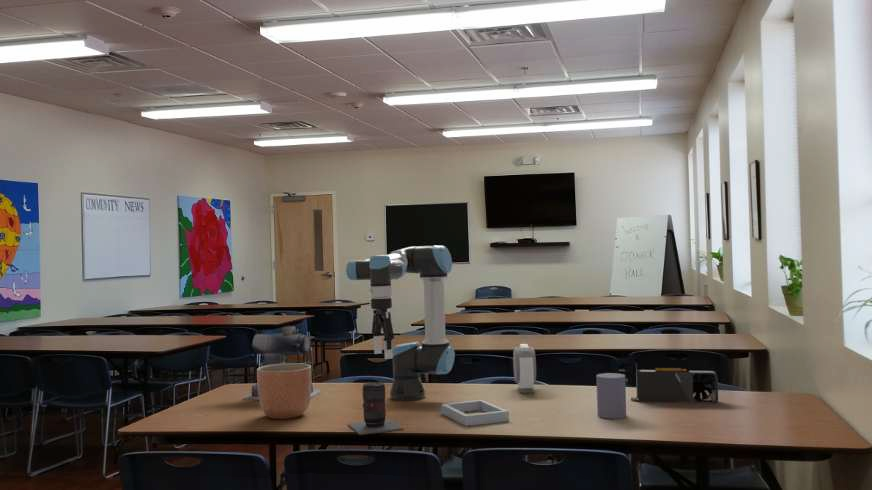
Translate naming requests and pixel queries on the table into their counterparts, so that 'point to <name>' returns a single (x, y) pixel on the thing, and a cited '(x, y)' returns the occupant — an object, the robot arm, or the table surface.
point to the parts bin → (490, 416)
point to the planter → (284, 389)
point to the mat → (387, 427)
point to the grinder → (279, 351)
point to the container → (611, 395)
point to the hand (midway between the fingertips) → (383, 356)
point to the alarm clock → (524, 367)
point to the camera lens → (374, 404)
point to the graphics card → (675, 385)
